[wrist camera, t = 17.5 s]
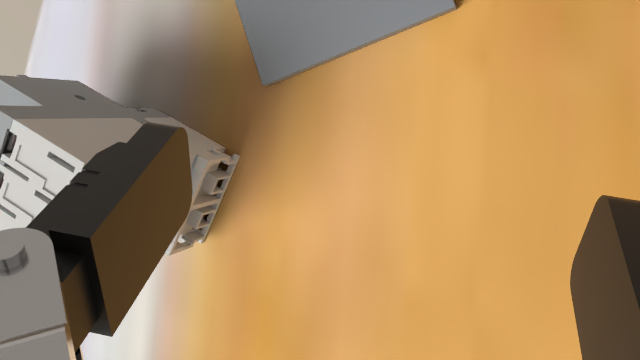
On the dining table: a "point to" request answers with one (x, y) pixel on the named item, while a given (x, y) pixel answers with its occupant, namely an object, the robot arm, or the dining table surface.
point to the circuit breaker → (86, 149)
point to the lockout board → (324, 29)
